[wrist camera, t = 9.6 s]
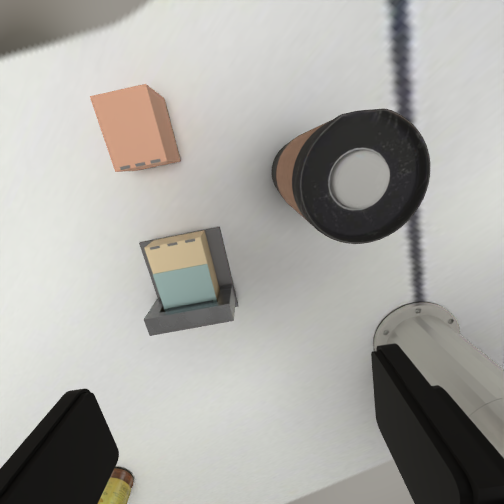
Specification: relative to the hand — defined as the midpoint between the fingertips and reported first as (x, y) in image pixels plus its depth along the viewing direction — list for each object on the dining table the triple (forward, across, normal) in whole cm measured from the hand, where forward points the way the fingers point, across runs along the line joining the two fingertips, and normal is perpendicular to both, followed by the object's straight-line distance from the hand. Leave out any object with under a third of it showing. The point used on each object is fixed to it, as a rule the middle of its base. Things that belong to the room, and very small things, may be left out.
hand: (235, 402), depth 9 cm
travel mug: (+29, -7, -6) cm, 30 cm away
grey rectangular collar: (+28, +10, +9) cm, 31 cm away
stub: (+28, +10, -13) cm, 33 cm away
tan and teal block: (+28, +10, +5) cm, 30 cm away
